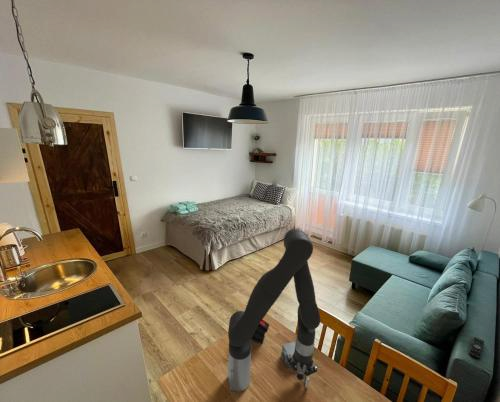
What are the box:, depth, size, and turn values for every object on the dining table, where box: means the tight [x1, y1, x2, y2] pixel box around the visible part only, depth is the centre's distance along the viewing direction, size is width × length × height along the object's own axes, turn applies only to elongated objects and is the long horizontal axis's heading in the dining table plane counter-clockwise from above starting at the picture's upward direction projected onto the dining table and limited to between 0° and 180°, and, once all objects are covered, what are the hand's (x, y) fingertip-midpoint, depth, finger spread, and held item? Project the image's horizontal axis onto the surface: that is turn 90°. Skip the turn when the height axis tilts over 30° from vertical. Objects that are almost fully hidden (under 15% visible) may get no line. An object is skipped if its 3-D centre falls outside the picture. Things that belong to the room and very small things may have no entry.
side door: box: [304, 376, 310, 388], centre depth 100 cm, size 12×1×5 cm, turn 159°
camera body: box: [280, 340, 296, 368], centre depth 106 cm, size 12×7×7 cm, turn 106°
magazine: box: [251, 319, 270, 345], centre depth 116 cm, size 4×13×15 cm, turn 70°
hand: (300, 378), depth 97 cm, fingers closed
